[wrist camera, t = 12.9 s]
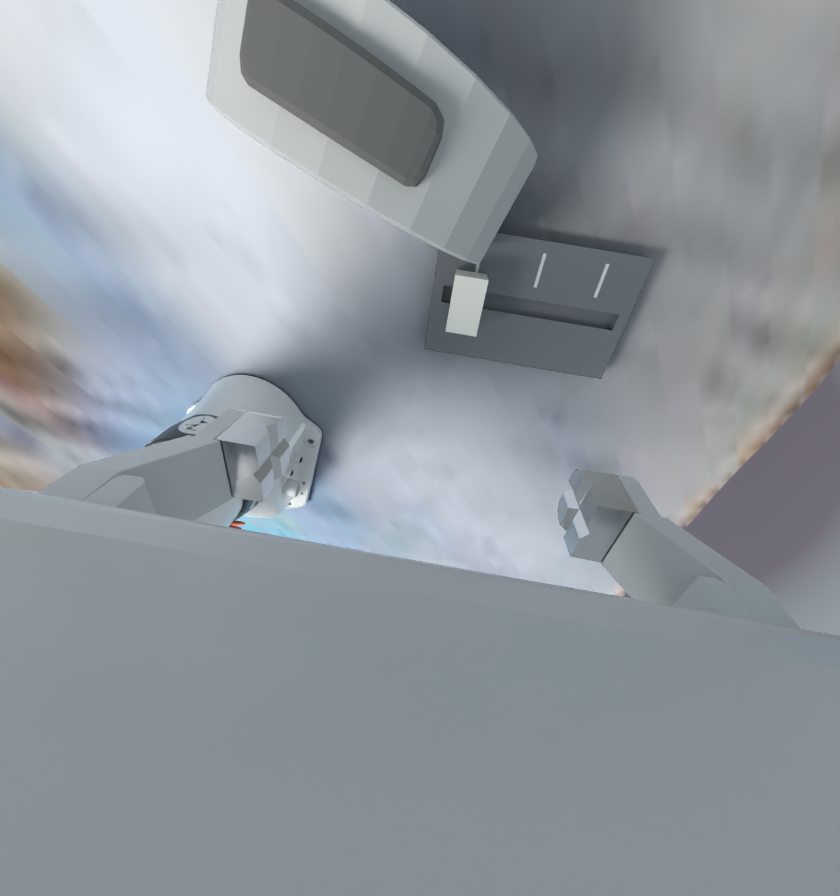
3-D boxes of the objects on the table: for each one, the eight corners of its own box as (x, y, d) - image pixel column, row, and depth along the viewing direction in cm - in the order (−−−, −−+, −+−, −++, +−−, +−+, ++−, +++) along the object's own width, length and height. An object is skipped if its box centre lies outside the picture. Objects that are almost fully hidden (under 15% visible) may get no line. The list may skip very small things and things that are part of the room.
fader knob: (474, 323, 39) (476, 336, 34) (447, 318, 39) (445, 331, 34) (485, 272, 36) (488, 280, 31) (456, 267, 36) (455, 274, 31)
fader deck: (595, 372, 41) (601, 379, 40) (426, 343, 42) (424, 349, 40) (645, 256, 35) (655, 259, 33) (443, 223, 35) (442, 223, 33)
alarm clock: (521, 173, 33) (579, 130, 16) (476, 254, 37) (486, 287, 20) (303, 21, 29) (88, -237, 12) (279, 130, 33) (92, 44, 16)
